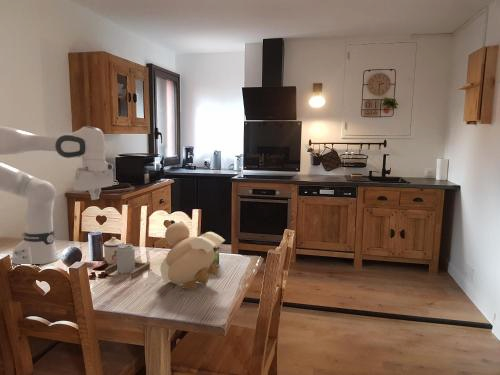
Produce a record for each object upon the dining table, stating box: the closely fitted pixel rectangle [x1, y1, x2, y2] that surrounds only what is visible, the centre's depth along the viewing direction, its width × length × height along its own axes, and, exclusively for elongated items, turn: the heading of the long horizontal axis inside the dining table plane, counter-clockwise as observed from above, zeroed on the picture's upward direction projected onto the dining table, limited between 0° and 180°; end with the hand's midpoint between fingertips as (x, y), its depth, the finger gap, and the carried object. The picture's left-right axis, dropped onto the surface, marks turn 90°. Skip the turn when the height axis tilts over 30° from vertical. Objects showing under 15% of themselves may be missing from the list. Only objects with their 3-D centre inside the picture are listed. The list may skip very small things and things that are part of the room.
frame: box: [104, 260, 151, 279], centre depth 167 cm, size 14×13×2 cm
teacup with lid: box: [103, 236, 125, 265], centre depth 181 cm, size 12×9×12 cm
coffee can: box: [197, 232, 220, 267], centre depth 177 cm, size 10×10×14 cm
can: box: [116, 243, 136, 275], centre depth 166 cm, size 8×8×12 cm
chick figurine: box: [159, 220, 226, 293], centre depth 151 cm, size 30×28×23 cm
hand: (95, 199), depth 157 cm, fingers closed
